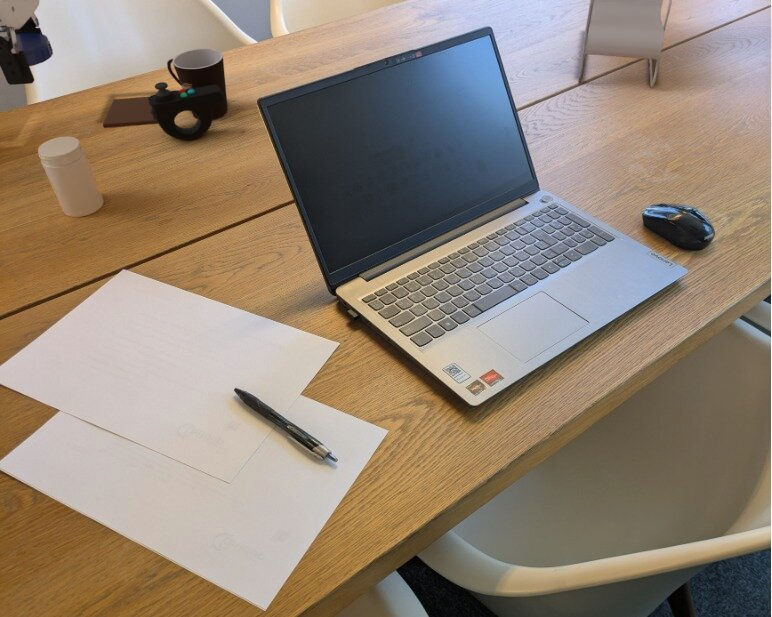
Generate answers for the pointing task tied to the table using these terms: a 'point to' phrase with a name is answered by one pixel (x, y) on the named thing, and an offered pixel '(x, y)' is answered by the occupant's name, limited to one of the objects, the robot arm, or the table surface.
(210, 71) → the coffee mug
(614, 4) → the chair
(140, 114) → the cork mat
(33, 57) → the jar lid
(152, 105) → the controller
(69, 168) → the jar
